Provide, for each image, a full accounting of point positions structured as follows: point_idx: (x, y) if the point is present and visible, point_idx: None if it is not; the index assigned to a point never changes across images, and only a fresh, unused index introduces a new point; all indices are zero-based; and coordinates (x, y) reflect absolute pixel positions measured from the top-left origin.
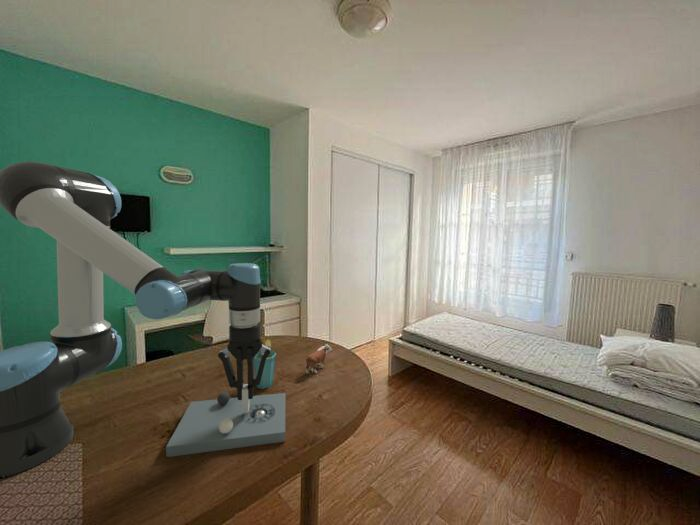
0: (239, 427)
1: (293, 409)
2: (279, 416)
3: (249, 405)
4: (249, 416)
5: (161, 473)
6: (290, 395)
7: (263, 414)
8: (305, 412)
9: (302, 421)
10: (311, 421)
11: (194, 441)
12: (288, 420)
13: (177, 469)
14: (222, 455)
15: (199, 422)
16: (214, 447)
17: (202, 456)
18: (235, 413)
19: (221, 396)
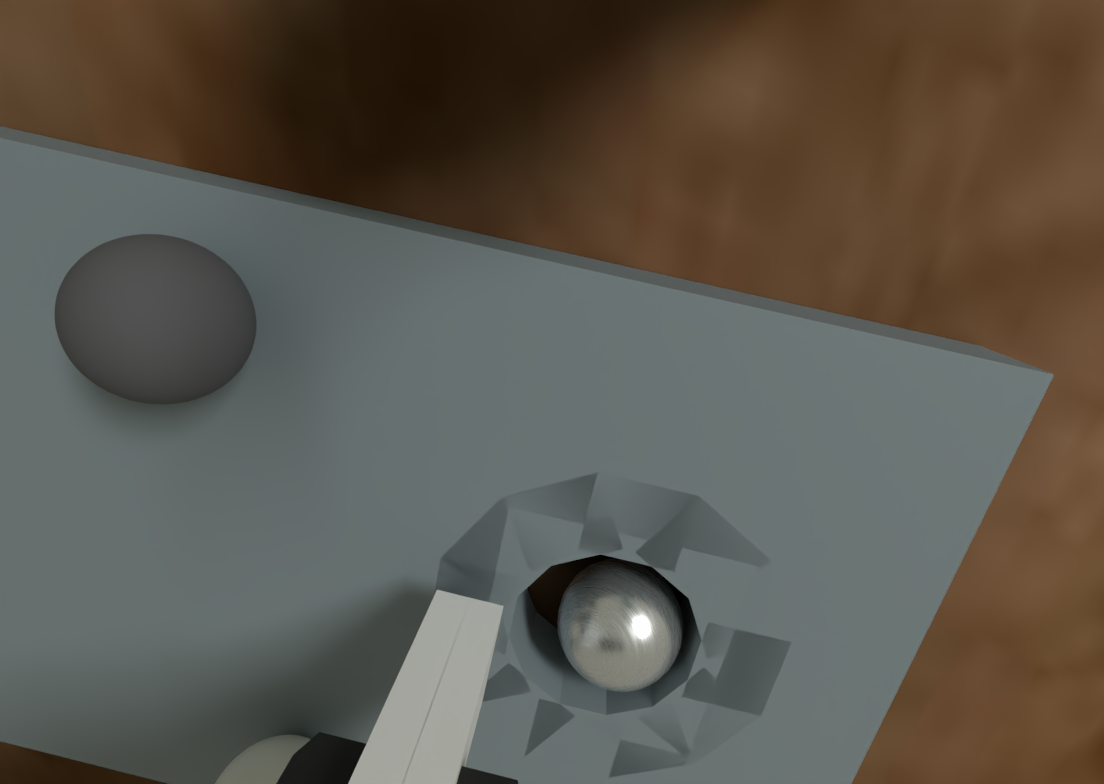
0: None
1: (989, 536)
2: (794, 764)
3: (501, 614)
4: (506, 649)
5: (21, 758)
6: (1096, 249)
7: (646, 686)
8: (1081, 628)
9: (983, 723)
10: (1059, 755)
11: (87, 749)
12: None
13: (97, 768)
14: None
15: (48, 541)
16: None
17: None
18: (367, 549)
19: (98, 385)
